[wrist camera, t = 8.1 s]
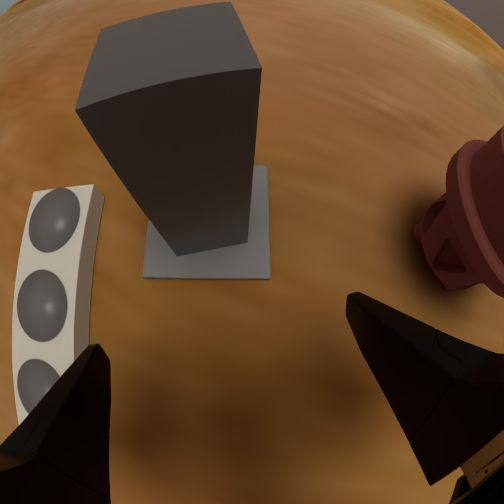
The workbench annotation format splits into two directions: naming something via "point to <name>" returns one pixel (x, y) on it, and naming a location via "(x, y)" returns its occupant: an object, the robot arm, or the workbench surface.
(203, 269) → the mat
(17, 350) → the power strip
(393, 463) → the workbench surface
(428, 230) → the mechanical component
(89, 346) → the robot arm
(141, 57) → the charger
